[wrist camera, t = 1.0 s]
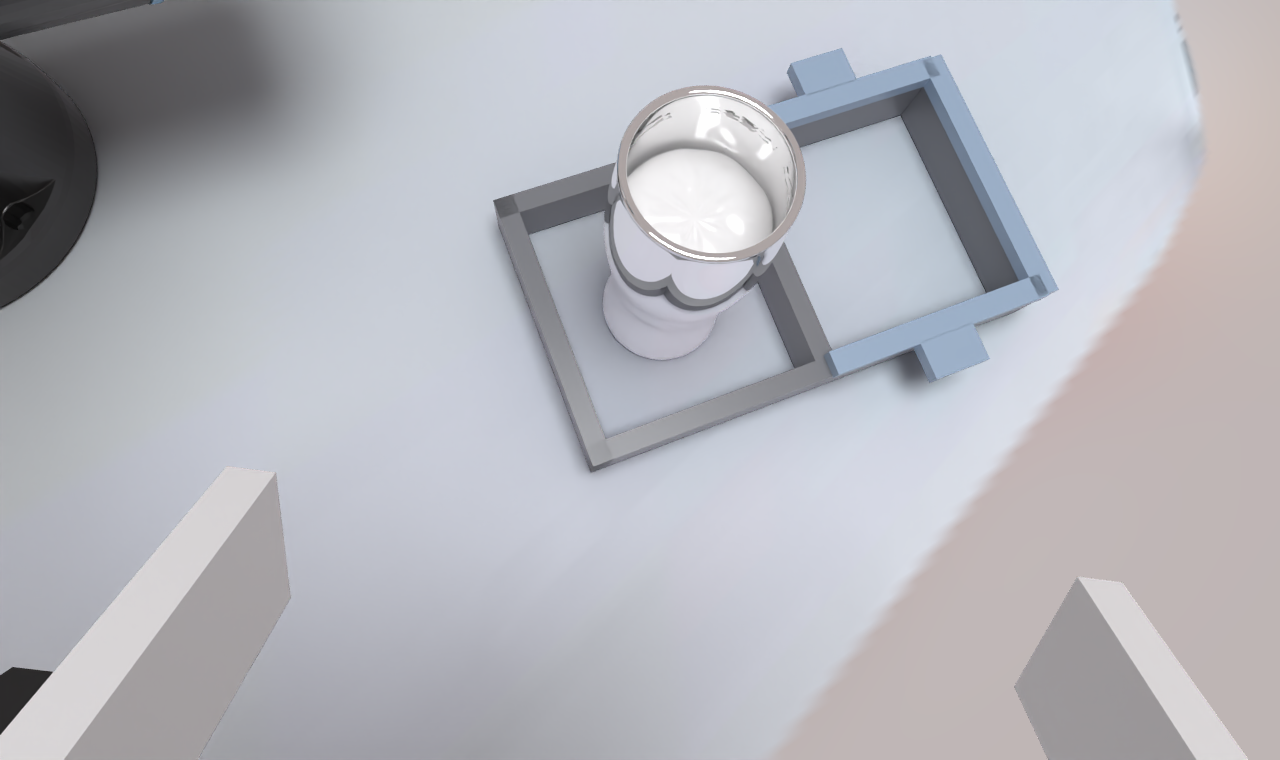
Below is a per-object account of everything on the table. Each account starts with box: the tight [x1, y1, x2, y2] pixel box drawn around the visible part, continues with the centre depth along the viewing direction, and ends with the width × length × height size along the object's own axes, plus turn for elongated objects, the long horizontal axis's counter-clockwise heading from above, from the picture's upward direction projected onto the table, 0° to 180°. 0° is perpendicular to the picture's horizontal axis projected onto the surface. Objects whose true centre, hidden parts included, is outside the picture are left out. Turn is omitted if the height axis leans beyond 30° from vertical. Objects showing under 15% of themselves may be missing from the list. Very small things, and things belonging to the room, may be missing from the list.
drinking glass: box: [603, 85, 806, 360], centre depth 33 cm, size 7×7×15 cm
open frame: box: [493, 48, 1058, 472], centre depth 40 cm, size 18×25×4 cm
